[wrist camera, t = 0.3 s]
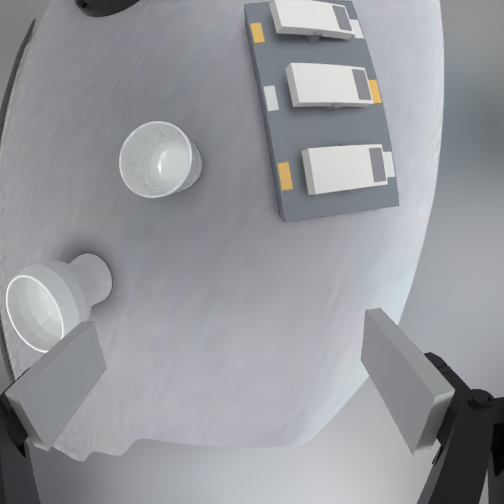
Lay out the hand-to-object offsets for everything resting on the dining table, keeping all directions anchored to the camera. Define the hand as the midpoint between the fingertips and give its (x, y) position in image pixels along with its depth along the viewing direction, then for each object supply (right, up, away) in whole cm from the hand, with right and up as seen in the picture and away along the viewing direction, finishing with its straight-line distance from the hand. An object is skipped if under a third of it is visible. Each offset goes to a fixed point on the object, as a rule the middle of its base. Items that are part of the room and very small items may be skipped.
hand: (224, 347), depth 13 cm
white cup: (-8, +16, +25) cm, 30 cm away
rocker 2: (+9, +22, +14) cm, 27 cm away
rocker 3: (+11, +13, +16) cm, 23 cm away
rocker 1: (+8, +30, +12) cm, 34 cm away
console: (+9, +23, +23) cm, 34 cm away
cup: (-23, 0, +28) cm, 36 cm away
